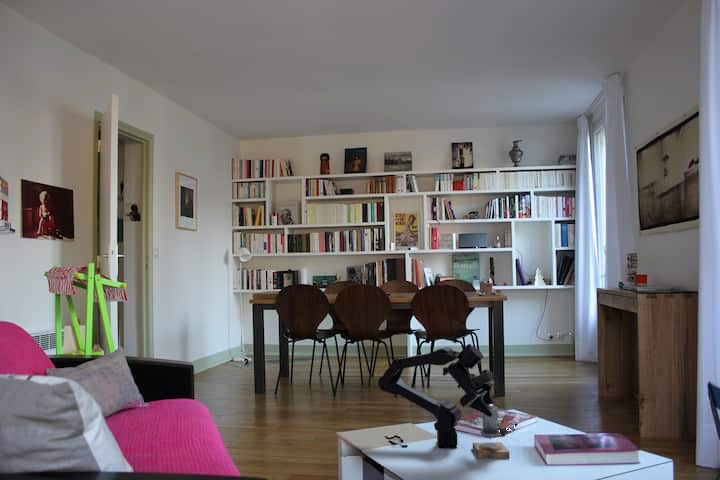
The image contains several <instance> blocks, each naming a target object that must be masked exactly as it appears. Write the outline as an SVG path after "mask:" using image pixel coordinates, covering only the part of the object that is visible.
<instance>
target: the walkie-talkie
mask: <svg viewBox="0 0 720 480" xmlns="http://www.w3.org/2000/svg"><path fill="white" fill-rule="evenodd" d="M507 423H508V420H505V418H504V417H498V430H500V434H501V435H500V436H503V437H504V436H505V435H506V434H507V433H508V432H507V430H509V428H510V429H511V430H512V431H513V432H514V431H515V430H514V425H512V426H510V427H508V429H507V430H506V427H507V425H508V424H507ZM506 432H507V433H506ZM505 433H506V434H505Z"/></svg>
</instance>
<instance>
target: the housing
mask: <svg viewBox="0 0 720 480" xmlns="http://www.w3.org/2000/svg"><path fill="white" fill-rule="evenodd" d="M486 405H487V407H488V408H489V410H490V411H491V413H492V416H491V417H489V416H487V415H486V414H484V413H482V429H481V430H480V436H482V437H484V438H499V437H500V436H501V435H500V432H499V431H498V418H499V410H498V406H496V407H494V405H493V404H486Z"/></svg>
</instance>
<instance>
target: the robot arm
mask: <svg viewBox="0 0 720 480" xmlns="http://www.w3.org/2000/svg"><path fill="white" fill-rule="evenodd" d="M483 359H484V355H483V353H482V352H481V350H480V349H478V348H476V347H475V346H474V345H472V344H471V343H468V344H467V345H466V346H465V347H464V348H463V349H462V350H461V351H457V350H453V349H452V348H451V347H449V346H444V347H442V348H439V349H436V350H433V351H430V352H429V353H423V354H422V353H421V354H416V355H412V356H406V357H398V358H395V359H393V360H392V362H391V363H390V365H389V367H388V368H387V369H386V370H385V372H384V373H383V375H381V376H380V377H379V379H378V380H377V385H378V389H379V390H381V391H382V392H384V393H388V394H390V395H395V396H396V395H397V396H400V397H402V398H404V399H405V400H407V401H409V402H411V403H413V404H414V405H416V406H418V407H420V408H422V409H424V410H426V411H427V412H429V413H431V414H432V416H434V417H435V418H436V422H435V423H433V427H434V429H435V431H436V441H435V444H436V447H438V449H440V450H441V449H458V444H459V443H458V432H457V431H456V428H455V427H457V425H458V423H459V422H460V421H461V420H462V415H463V414H462V412H461V411H462V410H461V409H460V408H459V407H458V405H457V404H455V403H452V402H451V401H450V400H447V399H446V400H444V401H442V402H439V401H438V400H436V399H433V398H432V397H430V396H428V395H426V394H424V393H422V392H420V391H419V390H417V389H416V388H413V387H411V386H409V385H408V384H406V383H405V382H404V380H403V379H402V378H401V377H402V375H403V372H404V369H407V368H414V367H421V366H426V365H432V366H444V367H442V376H443V377H444V376H447V375H449V376H450V377H452V379H453V380H454V381H455V382H456V384H457V385H456V387H457V388H458V389H461V390H462V391H463V392H464V393H465V394H464V395H462V397H460V399H459V404H460V405H461V407H462V408H463V409H464V408H465V407H467V406H468V408H471V409H473V410H475V411H477V412H480V413H481V414H483V413H484V414H486V415H487V416H489V417H491V416H492V413H491V411H490V410H489V408H488V407H487V405H486V404H493V405H494V407H497V405H496V404H495V402H494V400H493V397H492V391H493V390H492V389H493V387H494V384H493V383H492V382H491V381H494V377H493V375H494V373H493V372H492V371H491V370H489V369H488V368H486V369H483V370H482V371H481V373H480V374H479V375H476V373H471V372H470V371H469V370H468V369H470V370H472V369H474V368H475V367H476V366H477V364H479V363H480V362H481V361H482V360H483ZM456 360H457V361H456ZM453 361H456V362H453ZM447 364H449V365H448V366H445V365H447ZM468 404H469V405H468Z"/></svg>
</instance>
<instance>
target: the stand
mask: <svg viewBox="0 0 720 480" xmlns="http://www.w3.org/2000/svg"><path fill="white" fill-rule="evenodd" d="M472 450H473V452H474V454H476V456H477V458H478V459H480V460H481V459H484V460H485V459H510V451H509V450H508V449H507V447H506V446H505V445H504V443H502V442H500V441H499V442H497V441H496V442H495V441H494V442H472Z"/></svg>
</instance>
